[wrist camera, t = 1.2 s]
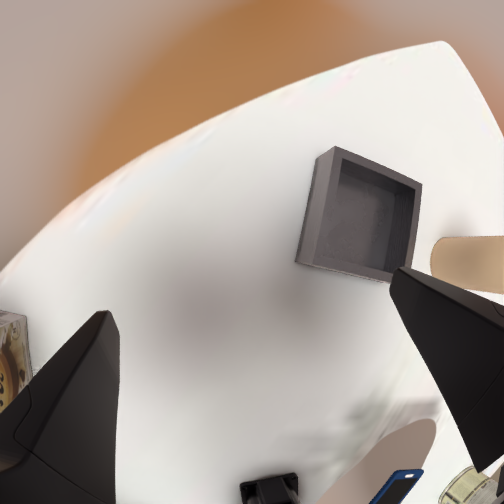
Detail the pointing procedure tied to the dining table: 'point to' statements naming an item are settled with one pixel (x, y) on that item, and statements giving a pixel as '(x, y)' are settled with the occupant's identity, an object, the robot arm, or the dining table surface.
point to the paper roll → (470, 262)
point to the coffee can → (470, 489)
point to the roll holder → (359, 217)
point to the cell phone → (397, 486)
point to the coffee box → (13, 357)
